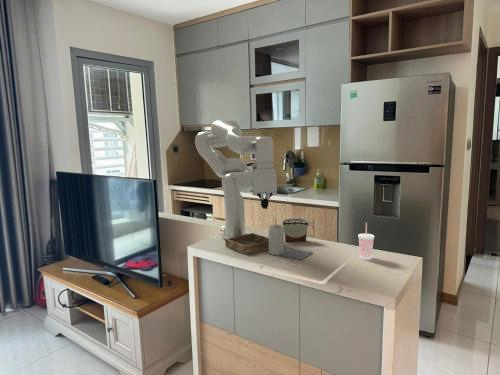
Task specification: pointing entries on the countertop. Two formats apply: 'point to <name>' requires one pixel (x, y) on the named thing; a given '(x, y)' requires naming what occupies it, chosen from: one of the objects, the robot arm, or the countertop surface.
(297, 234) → the food container
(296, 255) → the charcoal mat
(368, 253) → the beverage cup
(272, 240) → the beverage can
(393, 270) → the countertop surface
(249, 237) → the walnut box
